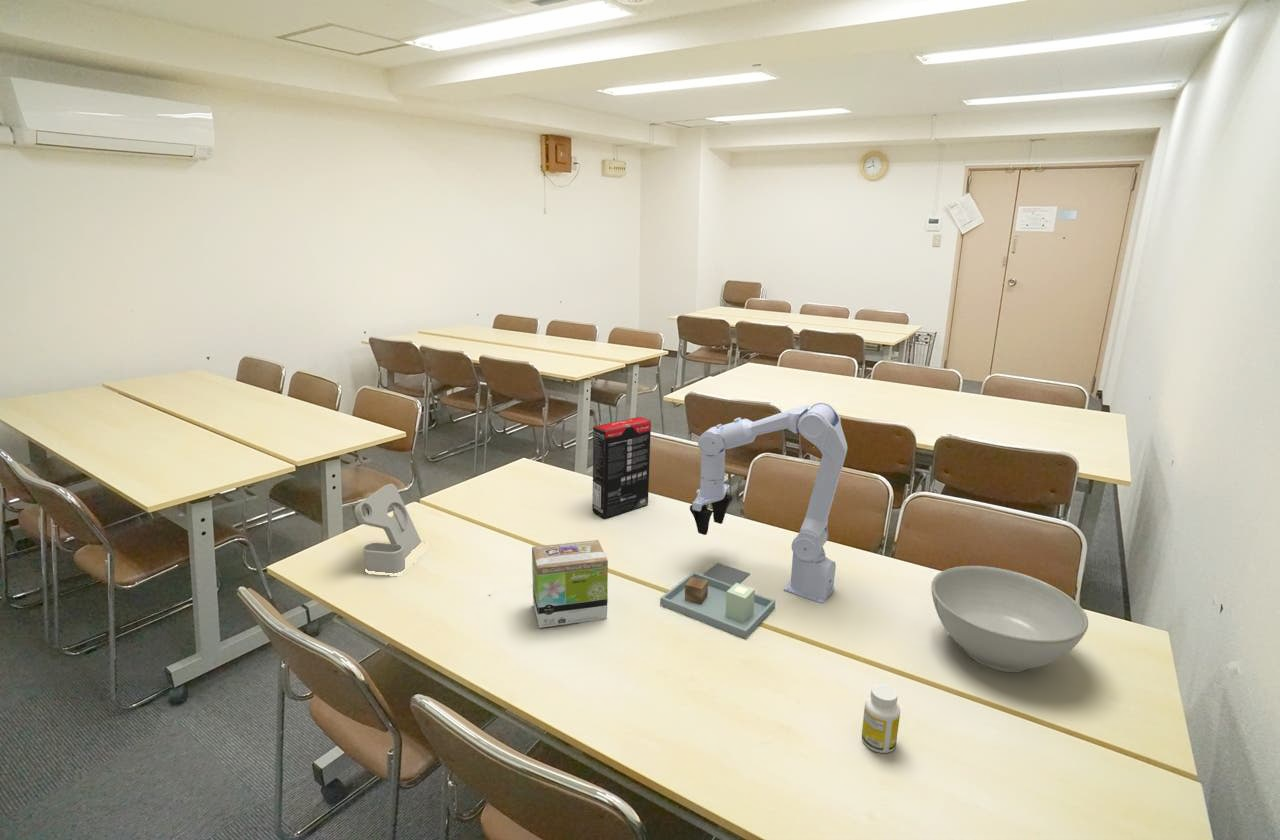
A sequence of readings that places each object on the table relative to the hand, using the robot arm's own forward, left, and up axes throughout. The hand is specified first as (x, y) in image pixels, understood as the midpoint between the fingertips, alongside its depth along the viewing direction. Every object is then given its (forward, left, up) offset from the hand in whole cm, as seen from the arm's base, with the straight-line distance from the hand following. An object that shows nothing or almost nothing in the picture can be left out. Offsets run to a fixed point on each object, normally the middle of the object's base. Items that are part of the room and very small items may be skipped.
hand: (710, 527), depth 161 cm
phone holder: (+65, +45, -10) cm, 79 cm away
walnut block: (-6, +16, -10) cm, 19 cm away
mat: (-6, +3, -10) cm, 12 cm away
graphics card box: (+38, -13, -10) cm, 41 cm away
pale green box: (-17, +16, -10) cm, 25 cm away
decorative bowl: (-64, -3, -10) cm, 65 cm away
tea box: (+14, +37, -10) cm, 40 cm away
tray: (-11, +16, -10) cm, 22 cm away
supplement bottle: (-52, +35, -10) cm, 63 cm away
